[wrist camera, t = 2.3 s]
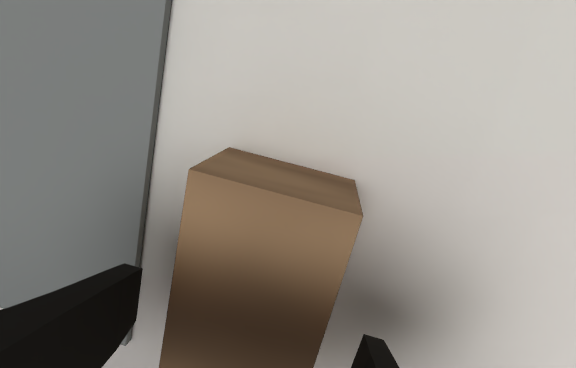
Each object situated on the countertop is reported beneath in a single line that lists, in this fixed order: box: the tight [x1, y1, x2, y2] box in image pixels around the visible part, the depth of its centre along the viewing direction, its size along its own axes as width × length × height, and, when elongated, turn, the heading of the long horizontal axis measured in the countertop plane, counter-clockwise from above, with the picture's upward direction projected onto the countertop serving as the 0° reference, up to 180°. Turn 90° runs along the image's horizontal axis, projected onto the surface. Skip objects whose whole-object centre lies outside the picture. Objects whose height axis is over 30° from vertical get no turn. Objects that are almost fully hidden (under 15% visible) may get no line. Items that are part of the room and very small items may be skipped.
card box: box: [159, 147, 363, 368], centre depth 12 cm, size 9×5×4 cm, turn 166°
